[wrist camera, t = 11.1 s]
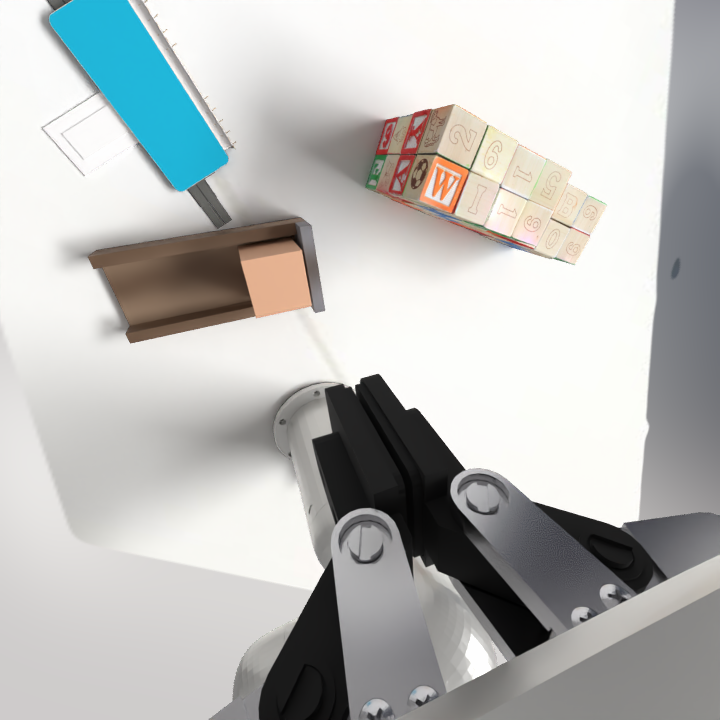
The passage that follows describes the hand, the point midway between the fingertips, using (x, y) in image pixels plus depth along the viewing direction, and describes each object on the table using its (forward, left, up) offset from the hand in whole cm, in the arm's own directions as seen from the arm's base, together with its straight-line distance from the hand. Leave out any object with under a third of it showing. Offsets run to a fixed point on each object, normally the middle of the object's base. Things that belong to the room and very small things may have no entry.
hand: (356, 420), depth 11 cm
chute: (-3, +5, -29) cm, 30 cm away
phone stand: (+11, +8, -30) cm, 33 cm away
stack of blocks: (+1, -22, -30) cm, 37 cm away
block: (-3, 0, -29) cm, 29 cm away
